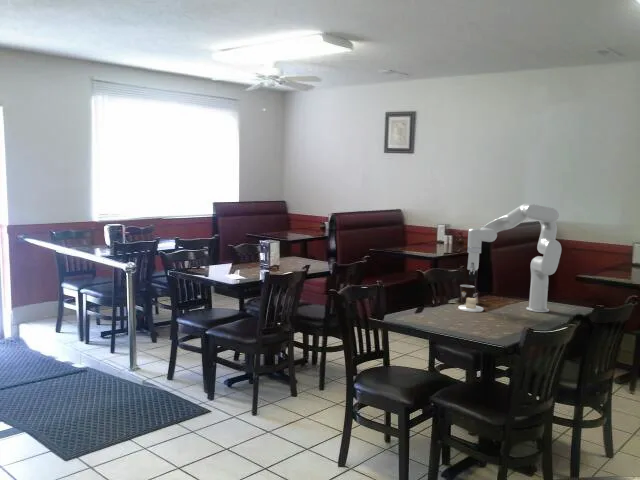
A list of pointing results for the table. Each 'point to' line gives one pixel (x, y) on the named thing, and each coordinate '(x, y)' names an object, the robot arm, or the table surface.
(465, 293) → the coffee mug
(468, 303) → the maple block
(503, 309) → the table surface
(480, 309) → the ceramic dish
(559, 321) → the table surface
